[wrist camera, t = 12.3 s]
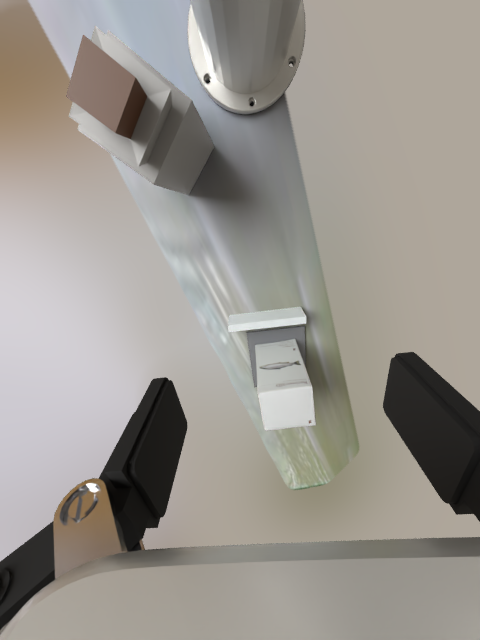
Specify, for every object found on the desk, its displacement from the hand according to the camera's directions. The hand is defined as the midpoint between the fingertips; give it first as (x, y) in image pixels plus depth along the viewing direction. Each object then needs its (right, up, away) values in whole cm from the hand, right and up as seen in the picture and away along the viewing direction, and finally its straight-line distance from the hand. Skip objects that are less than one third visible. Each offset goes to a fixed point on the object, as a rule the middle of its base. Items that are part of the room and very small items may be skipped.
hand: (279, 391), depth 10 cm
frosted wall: (+3, +4, +29) cm, 30 cm away
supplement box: (+5, -4, +33) cm, 33 cm away
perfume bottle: (-10, +25, +21) cm, 34 cm away
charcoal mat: (+5, -4, +33) cm, 34 cm away
